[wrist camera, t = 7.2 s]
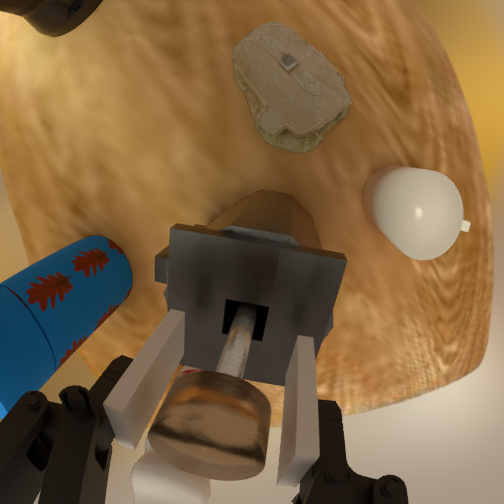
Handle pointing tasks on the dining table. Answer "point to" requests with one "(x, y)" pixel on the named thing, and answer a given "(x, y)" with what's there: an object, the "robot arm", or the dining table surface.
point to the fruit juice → (166, 477)
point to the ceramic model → (289, 87)
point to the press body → (251, 282)
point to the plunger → (216, 414)
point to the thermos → (56, 311)
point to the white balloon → (414, 209)
